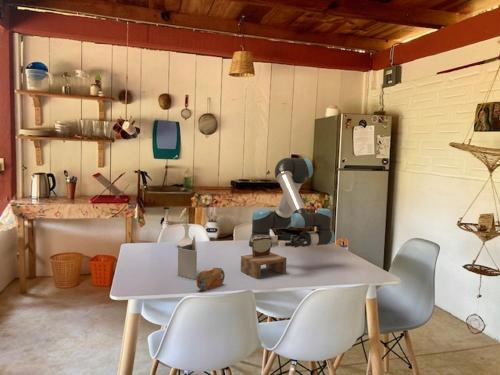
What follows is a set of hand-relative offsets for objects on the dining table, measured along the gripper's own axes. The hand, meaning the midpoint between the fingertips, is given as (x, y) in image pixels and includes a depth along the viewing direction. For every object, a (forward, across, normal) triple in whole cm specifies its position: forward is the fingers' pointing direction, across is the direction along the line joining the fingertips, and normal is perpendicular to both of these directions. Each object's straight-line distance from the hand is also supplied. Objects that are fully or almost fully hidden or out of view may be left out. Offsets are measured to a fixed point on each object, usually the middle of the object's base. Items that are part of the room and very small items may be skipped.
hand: (272, 241), depth 203 cm
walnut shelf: (+4, 0, -16) cm, 16 cm away
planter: (+42, +10, -16) cm, 46 cm away
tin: (+37, -12, -16) cm, 42 cm away
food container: (+5, +4, -8) cm, 10 cm away
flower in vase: (+26, +64, -16) cm, 71 cm away
